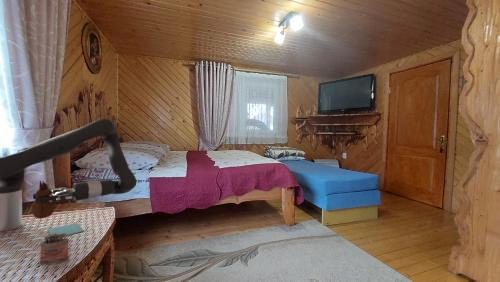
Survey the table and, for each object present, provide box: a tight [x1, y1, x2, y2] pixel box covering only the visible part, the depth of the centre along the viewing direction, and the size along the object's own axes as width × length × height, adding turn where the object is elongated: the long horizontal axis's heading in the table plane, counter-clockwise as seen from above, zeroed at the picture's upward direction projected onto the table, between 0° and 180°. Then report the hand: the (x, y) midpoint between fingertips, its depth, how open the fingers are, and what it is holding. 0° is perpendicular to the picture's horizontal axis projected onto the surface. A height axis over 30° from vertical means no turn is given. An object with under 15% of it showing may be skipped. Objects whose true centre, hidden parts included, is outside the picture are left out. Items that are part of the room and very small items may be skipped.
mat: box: [46, 222, 85, 237], centre depth 102 cm, size 12×11×1 cm
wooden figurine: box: [31, 180, 56, 219], centre depth 87 cm, size 7×6×15 cm
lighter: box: [39, 233, 70, 266], centre depth 80 cm, size 8×3×10 cm, turn 114°
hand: (34, 198), depth 85 cm, fingers closed on wooden figurine, 4 cm apart
